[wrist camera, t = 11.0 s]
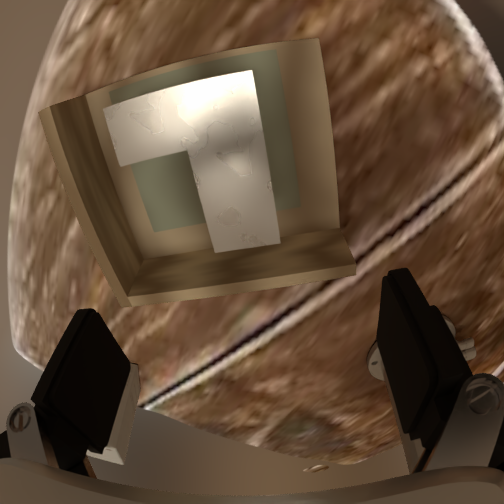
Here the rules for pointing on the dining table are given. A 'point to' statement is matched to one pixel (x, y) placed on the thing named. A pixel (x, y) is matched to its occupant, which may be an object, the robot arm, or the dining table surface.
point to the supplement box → (122, 421)
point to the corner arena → (185, 189)
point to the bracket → (207, 151)
